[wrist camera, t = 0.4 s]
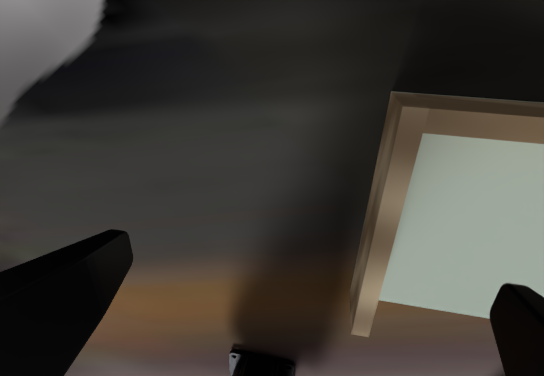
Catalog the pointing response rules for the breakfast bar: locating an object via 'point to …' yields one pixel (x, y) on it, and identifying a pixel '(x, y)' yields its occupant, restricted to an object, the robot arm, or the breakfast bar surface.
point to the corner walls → (399, 166)
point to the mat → (468, 224)
